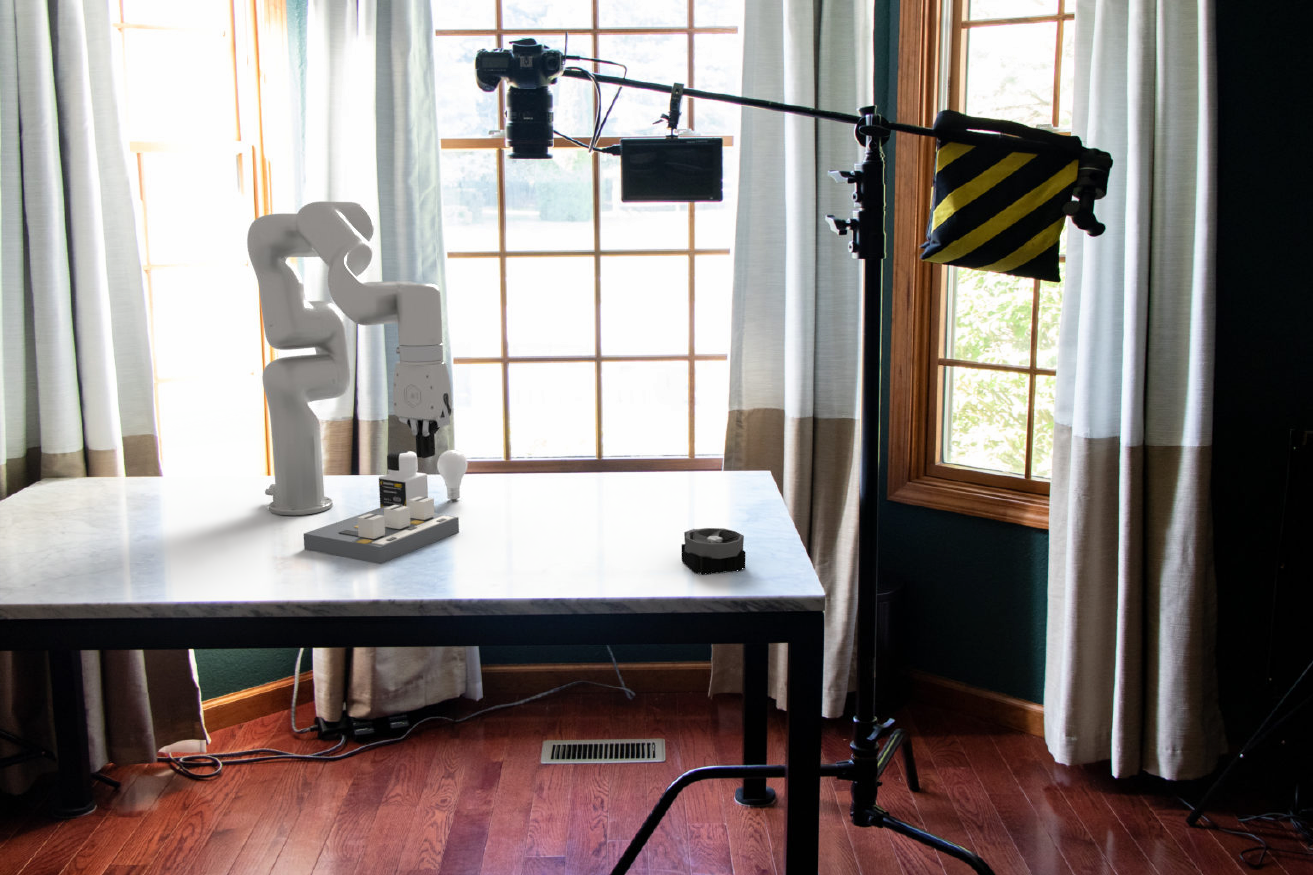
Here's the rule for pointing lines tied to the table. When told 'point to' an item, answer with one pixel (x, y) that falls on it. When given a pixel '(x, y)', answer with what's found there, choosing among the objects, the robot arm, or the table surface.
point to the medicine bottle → (402, 480)
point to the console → (384, 548)
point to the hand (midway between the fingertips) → (426, 456)
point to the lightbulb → (452, 471)
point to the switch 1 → (371, 526)
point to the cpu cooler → (713, 550)
